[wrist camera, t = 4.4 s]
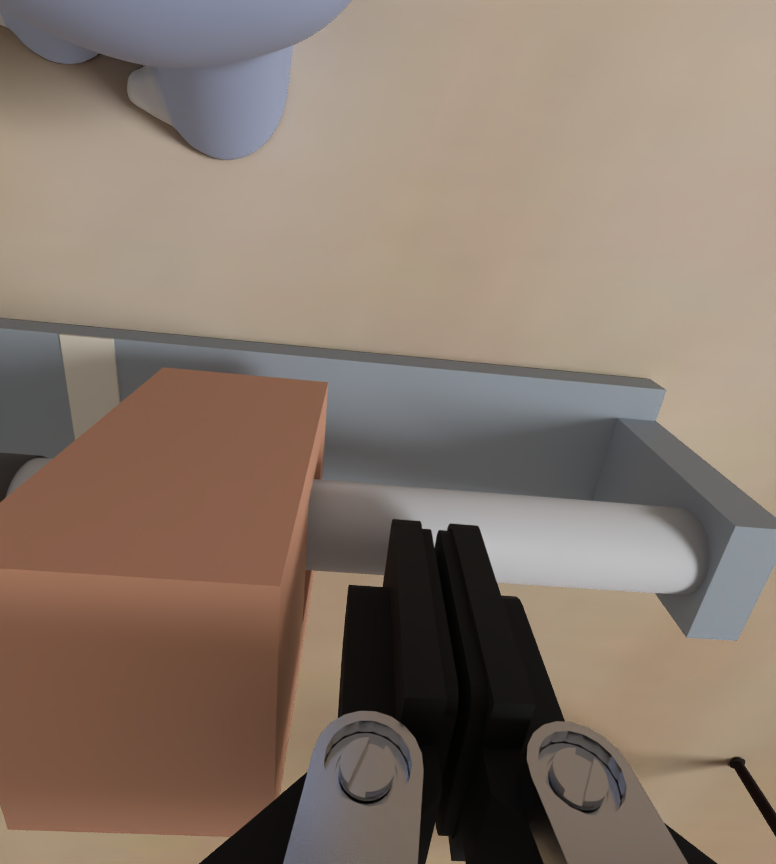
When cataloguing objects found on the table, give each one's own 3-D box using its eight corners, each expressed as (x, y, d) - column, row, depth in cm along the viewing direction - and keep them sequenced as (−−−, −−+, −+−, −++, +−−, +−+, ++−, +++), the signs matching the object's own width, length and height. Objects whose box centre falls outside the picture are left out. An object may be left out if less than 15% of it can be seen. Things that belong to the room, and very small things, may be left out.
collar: (317, 547, 15) (272, 838, 8) (175, 537, 15) (7, 829, 8) (328, 382, 13) (279, 586, 6) (163, 367, 13) (-74, 563, 6)
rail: (606, 514, 19) (721, 673, 12) (-87, 462, 17) (-344, 612, 11) (650, 379, 17) (812, 488, 10) (-133, 305, 15) (-479, 382, 9)
